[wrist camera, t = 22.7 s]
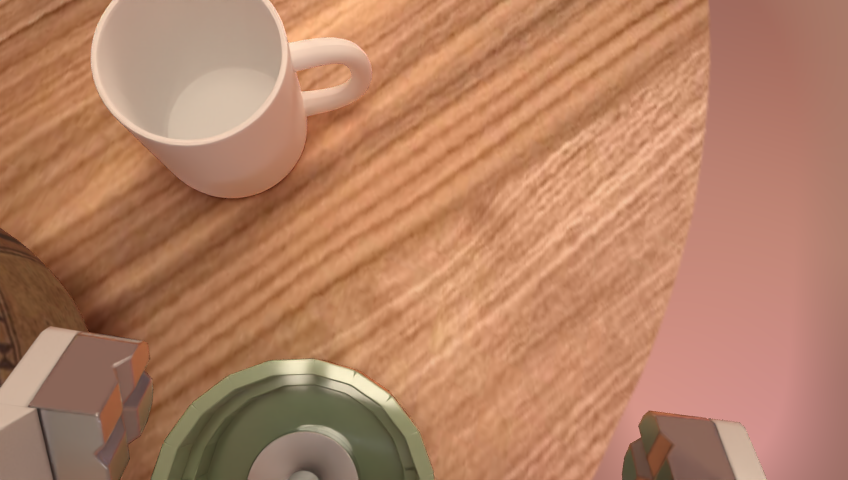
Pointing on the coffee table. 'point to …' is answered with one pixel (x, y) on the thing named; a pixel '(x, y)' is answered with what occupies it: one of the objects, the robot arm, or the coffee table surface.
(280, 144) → the cup
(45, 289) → the vase
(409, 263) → the coffee table surface
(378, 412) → the bowl
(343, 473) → the meat pounder
